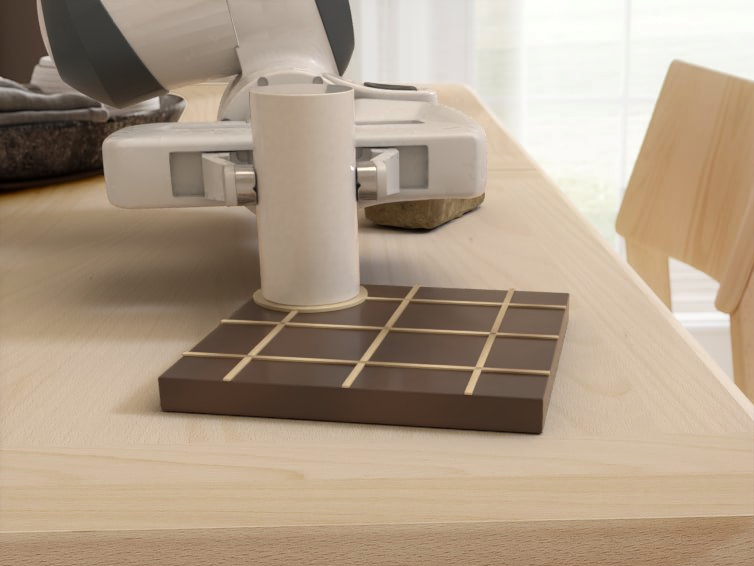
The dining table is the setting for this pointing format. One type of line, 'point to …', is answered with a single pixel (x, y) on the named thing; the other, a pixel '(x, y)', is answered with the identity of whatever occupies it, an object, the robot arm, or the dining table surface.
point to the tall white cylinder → (306, 192)
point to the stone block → (421, 212)
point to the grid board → (382, 359)
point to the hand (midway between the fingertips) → (308, 187)
